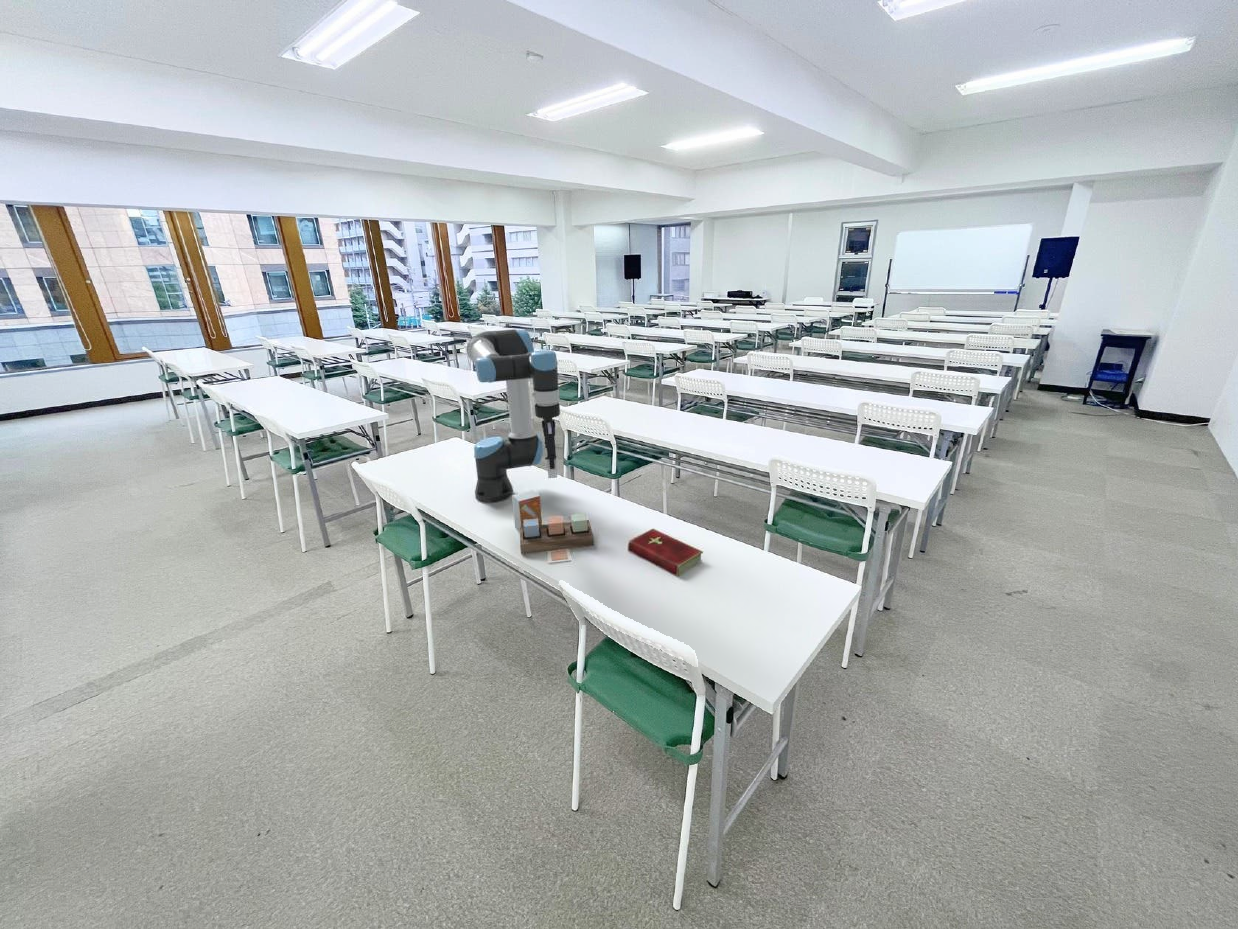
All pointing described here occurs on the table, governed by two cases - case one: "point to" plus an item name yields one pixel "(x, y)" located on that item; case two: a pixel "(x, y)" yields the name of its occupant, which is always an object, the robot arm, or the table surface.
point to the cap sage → (579, 522)
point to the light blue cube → (531, 527)
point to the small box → (526, 508)
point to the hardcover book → (665, 551)
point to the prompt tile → (559, 556)
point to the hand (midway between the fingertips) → (551, 472)
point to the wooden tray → (556, 539)
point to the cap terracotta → (555, 525)
